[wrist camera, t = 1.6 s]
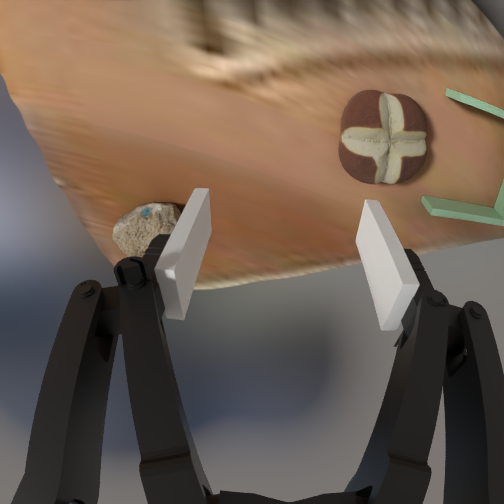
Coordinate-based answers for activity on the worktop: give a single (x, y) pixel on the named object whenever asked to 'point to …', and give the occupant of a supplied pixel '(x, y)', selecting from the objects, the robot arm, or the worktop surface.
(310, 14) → the worktop surface
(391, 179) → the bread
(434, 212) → the mint green tray
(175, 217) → the rock
